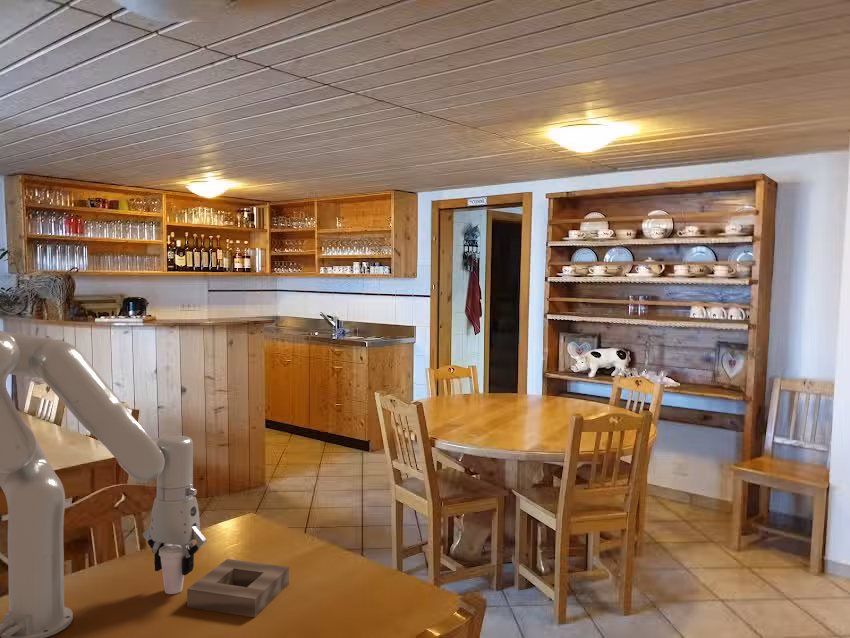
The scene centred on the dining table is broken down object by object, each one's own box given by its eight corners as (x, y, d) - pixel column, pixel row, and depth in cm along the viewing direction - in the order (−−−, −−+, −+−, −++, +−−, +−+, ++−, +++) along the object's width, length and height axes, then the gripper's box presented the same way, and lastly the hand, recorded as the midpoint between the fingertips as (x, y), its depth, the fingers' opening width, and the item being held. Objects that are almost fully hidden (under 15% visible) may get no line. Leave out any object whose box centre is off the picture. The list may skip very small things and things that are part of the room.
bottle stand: (254, 617, 136) (255, 598, 135) (187, 607, 139) (187, 588, 139) (288, 583, 151) (289, 567, 151) (227, 575, 155) (227, 558, 155)
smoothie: (156, 598, 143) (157, 535, 142) (160, 585, 149) (160, 525, 148) (187, 595, 144) (188, 533, 144) (189, 582, 151) (190, 523, 150)
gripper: (218, 491, 147) (217, 569, 148) (152, 483, 151) (151, 559, 152) (199, 501, 140) (198, 583, 141) (130, 493, 144) (129, 572, 145)
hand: (173, 570), depth 146 cm, fingers closed on smoothie, 6 cm apart
